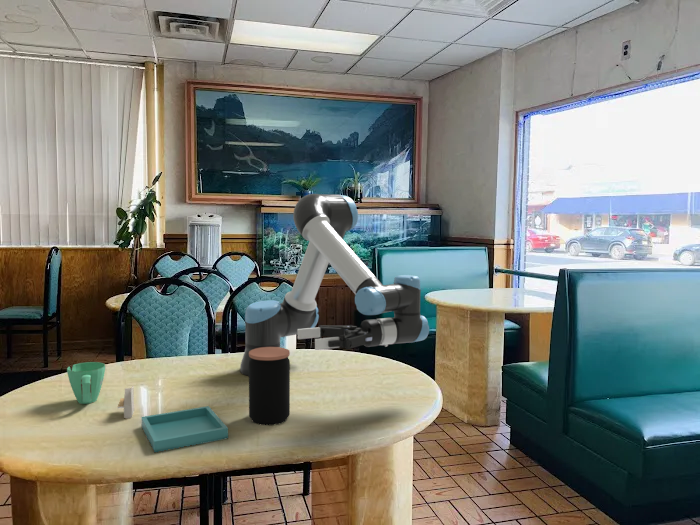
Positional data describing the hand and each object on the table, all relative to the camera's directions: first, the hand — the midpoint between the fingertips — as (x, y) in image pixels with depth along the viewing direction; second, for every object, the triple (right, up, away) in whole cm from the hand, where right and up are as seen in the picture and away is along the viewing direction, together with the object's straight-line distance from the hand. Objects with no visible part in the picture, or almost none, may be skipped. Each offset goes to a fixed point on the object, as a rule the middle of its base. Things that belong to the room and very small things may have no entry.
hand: (306, 339), depth 150 cm
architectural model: (-47, -21, 0) cm, 52 cm away
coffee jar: (-10, -21, -2) cm, 23 cm away
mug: (-62, -19, +8) cm, 65 cm away
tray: (-29, -21, -12) cm, 38 cm away
